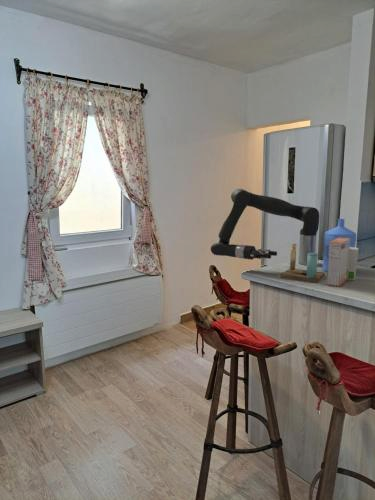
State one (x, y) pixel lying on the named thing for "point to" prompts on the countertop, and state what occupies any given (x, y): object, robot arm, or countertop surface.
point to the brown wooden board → (301, 276)
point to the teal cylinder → (311, 265)
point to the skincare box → (352, 263)
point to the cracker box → (338, 261)
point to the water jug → (334, 234)
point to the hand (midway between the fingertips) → (273, 255)
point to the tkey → (294, 260)
